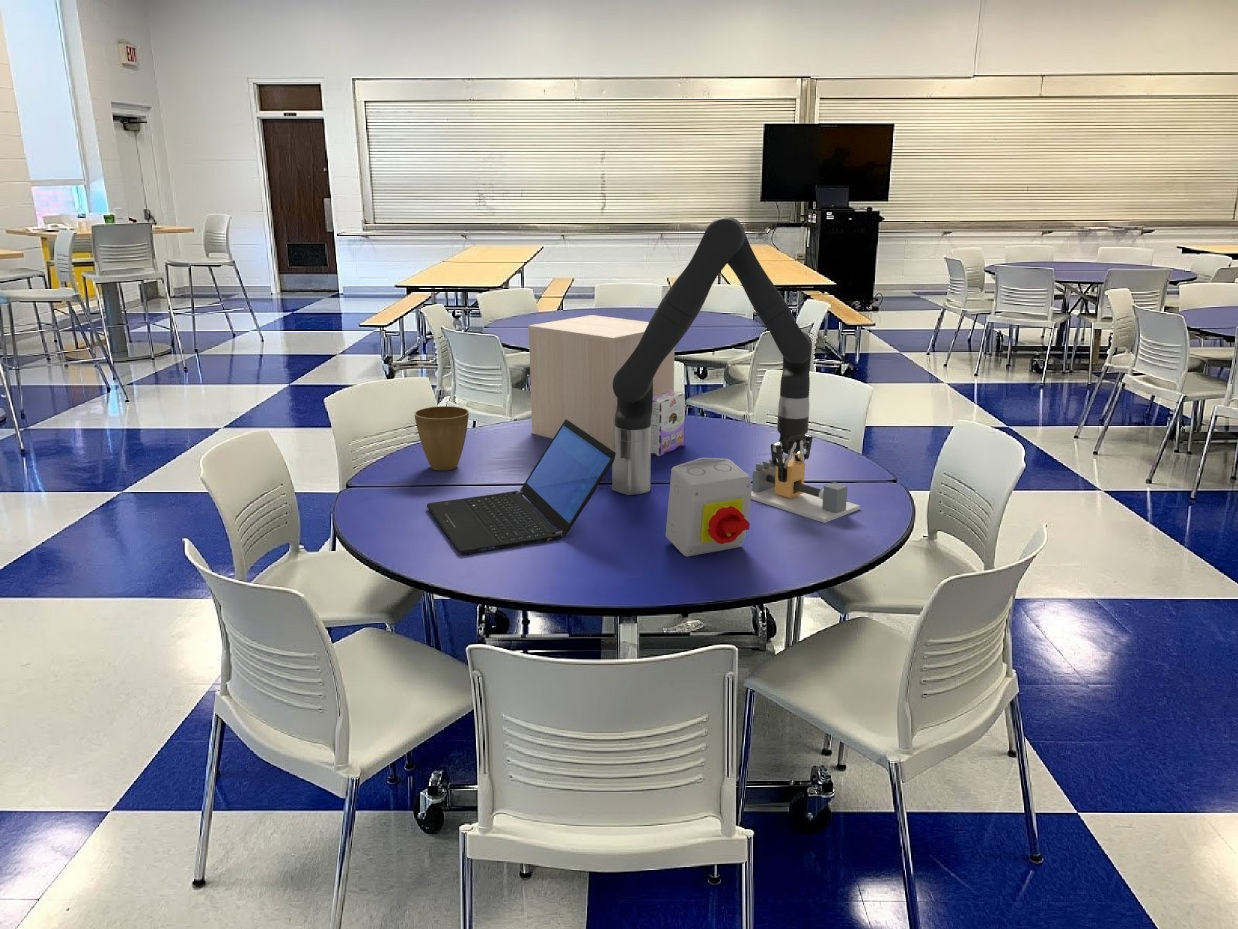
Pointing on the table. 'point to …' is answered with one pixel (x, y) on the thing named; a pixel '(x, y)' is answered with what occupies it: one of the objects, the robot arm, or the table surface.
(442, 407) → the plant pot
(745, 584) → the table surface
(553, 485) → the laptop
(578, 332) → the cabinet
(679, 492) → the electrical switch box
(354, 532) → the table surface
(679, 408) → the candy box
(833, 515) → the cord rig
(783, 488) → the sleeve
